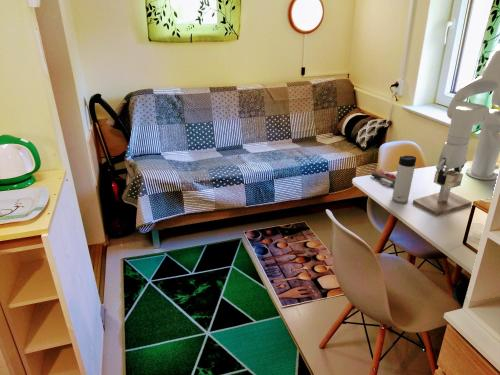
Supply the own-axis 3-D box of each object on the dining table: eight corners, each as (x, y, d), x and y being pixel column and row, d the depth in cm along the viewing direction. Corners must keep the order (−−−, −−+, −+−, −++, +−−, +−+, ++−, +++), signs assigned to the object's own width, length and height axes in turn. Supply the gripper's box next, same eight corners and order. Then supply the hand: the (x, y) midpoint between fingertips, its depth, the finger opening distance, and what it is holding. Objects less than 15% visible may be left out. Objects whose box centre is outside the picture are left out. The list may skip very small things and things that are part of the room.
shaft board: (446, 193, 167) (450, 175, 163) (471, 205, 157) (476, 186, 153) (412, 203, 159) (416, 184, 155) (436, 216, 149) (441, 197, 145)
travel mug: (400, 205, 157) (408, 160, 148) (388, 198, 162) (396, 154, 154) (411, 202, 159) (420, 158, 150) (400, 195, 165) (408, 152, 156)
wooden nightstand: (445, 178, 158) (448, 167, 156) (460, 185, 152) (463, 173, 150) (433, 182, 155) (436, 170, 153) (448, 189, 150) (451, 177, 147)
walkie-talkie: (367, 178, 182) (404, 194, 167) (369, 170, 180) (406, 185, 165) (379, 174, 186) (416, 188, 171) (381, 165, 184) (418, 180, 170)
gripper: (464, 133, 152) (454, 174, 160) (433, 140, 145) (424, 182, 153) (482, 139, 146) (470, 181, 154) (450, 146, 139) (439, 189, 147)
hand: (447, 181), depth 153 cm, fingers closed on wooden nightstand, 7 cm apart
